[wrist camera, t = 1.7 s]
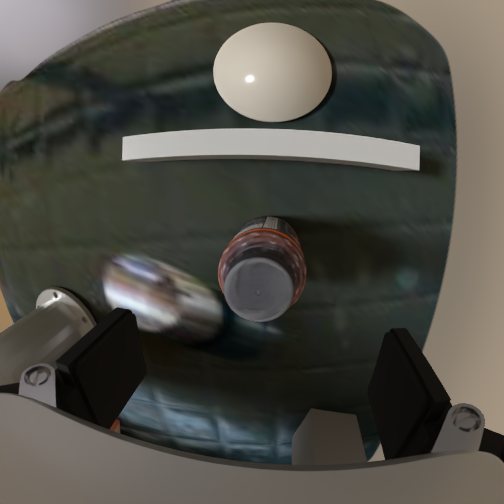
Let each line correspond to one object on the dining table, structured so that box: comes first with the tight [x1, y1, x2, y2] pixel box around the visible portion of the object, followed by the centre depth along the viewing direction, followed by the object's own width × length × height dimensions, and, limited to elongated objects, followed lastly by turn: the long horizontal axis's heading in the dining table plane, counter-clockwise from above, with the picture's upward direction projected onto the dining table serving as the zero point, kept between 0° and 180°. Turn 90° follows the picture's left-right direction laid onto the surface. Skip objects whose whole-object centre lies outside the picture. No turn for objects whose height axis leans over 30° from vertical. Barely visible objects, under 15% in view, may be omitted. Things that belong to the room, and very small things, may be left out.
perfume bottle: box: [292, 408, 367, 465], centre depth 24 cm, size 7×7×18 cm
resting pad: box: [213, 23, 332, 123], centre depth 22 cm, size 11×11×1 cm
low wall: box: [122, 129, 420, 171], centre depth 22 cm, size 2×24×5 cm, turn 89°
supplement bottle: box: [218, 216, 307, 322], centre depth 21 cm, size 6×6×11 cm
